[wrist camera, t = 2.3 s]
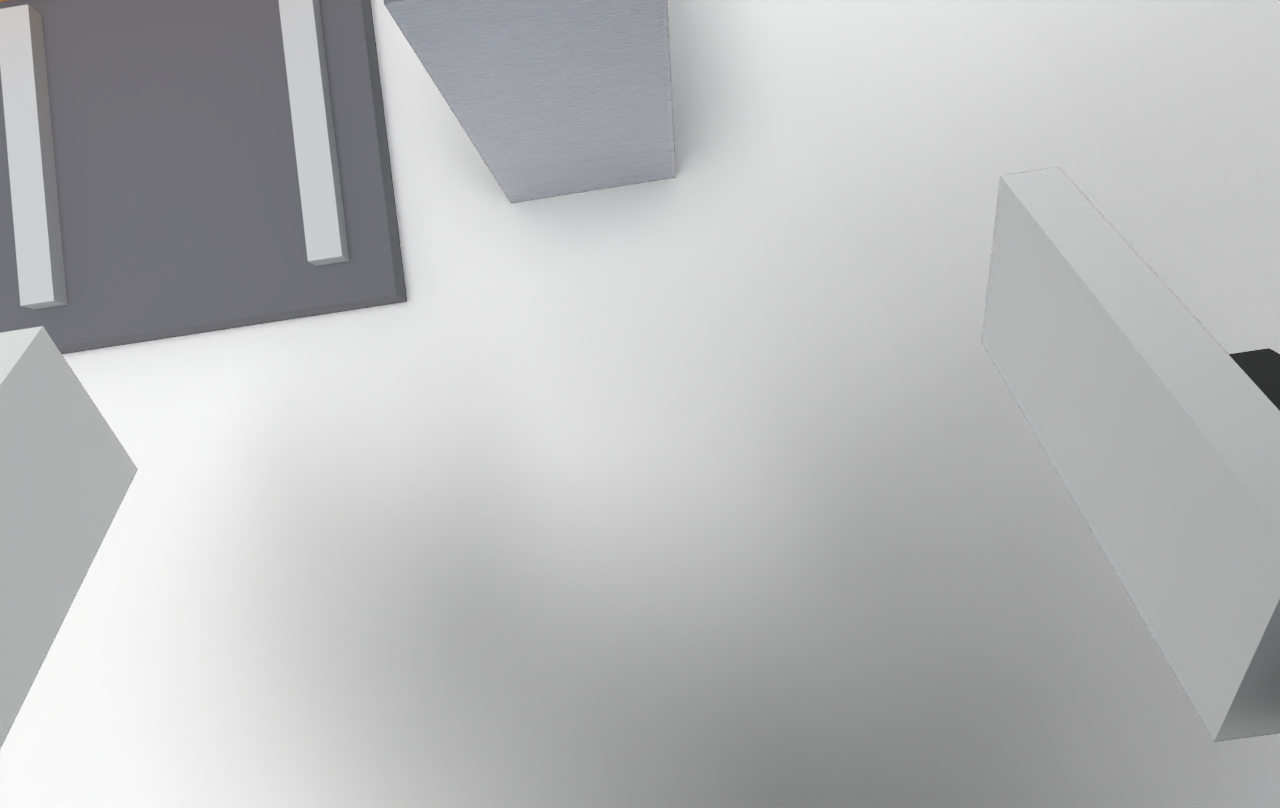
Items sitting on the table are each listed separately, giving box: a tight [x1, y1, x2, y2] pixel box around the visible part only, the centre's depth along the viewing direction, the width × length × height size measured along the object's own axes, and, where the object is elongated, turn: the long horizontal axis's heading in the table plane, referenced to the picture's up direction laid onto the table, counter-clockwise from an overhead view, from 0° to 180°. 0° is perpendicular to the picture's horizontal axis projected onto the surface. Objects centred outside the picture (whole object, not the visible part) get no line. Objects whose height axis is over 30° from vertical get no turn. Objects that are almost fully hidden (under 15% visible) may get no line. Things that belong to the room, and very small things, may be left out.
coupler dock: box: [0, 0, 407, 354], centre depth 27 cm, size 12×12×4 cm
